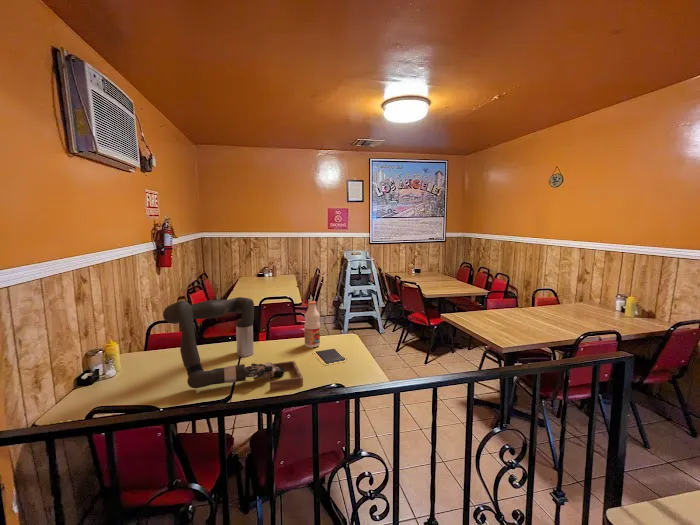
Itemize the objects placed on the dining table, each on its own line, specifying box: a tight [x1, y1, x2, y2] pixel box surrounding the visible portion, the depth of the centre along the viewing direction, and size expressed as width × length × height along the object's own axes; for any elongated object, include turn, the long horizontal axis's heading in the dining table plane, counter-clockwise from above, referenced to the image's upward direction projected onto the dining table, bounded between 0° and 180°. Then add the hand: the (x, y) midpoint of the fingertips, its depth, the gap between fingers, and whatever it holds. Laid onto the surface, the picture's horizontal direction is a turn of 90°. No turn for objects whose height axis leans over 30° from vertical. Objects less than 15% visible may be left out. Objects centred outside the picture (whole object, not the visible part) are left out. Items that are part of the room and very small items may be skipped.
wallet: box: [314, 348, 346, 364], centre depth 196 cm, size 20×2×15 cm
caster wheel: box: [259, 362, 285, 381], centre depth 172 cm, size 7×11×10 cm
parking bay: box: [269, 360, 304, 392], centre depth 169 cm, size 20×15×4 cm
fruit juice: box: [304, 300, 321, 349], centre depth 211 cm, size 9×9×28 cm
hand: (272, 368), depth 167 cm, fingers closed
